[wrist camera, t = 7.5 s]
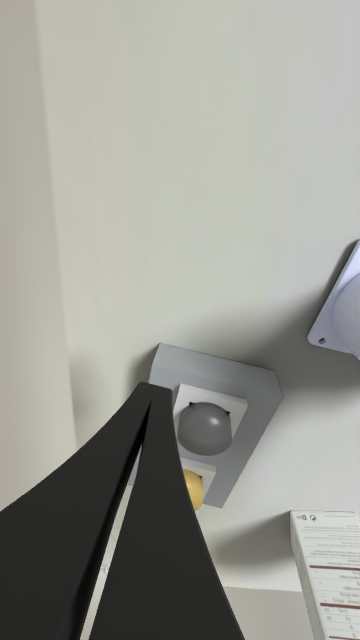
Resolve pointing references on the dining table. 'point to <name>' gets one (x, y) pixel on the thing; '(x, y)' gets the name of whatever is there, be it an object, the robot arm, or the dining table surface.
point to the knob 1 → (194, 488)
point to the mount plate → (227, 392)
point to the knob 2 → (204, 429)
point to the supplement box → (329, 571)
